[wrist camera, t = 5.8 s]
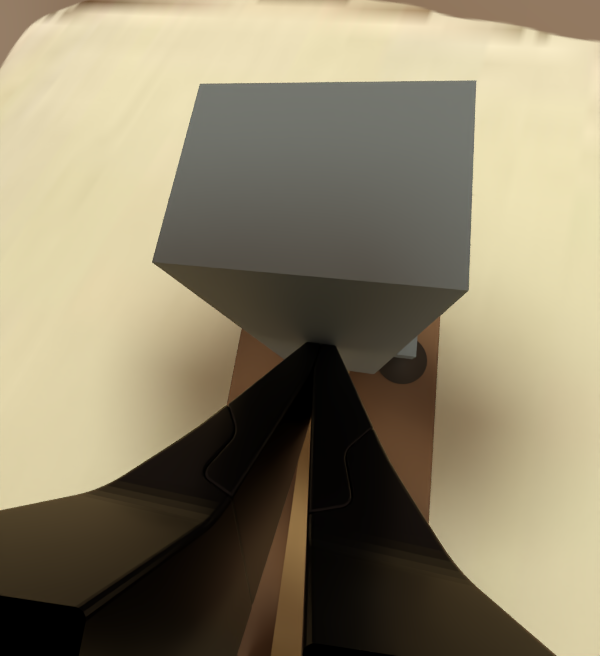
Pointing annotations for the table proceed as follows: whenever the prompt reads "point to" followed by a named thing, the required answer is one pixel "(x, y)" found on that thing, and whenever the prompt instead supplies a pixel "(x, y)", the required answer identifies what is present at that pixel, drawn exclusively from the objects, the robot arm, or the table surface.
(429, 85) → the block
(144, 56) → the table surface
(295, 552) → the hole plate
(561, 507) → the table surface
